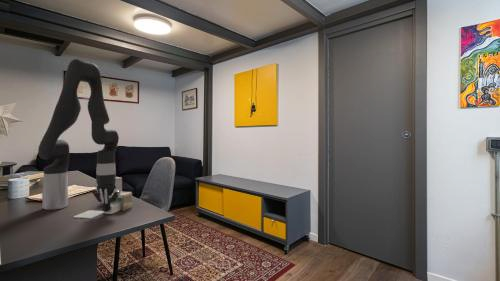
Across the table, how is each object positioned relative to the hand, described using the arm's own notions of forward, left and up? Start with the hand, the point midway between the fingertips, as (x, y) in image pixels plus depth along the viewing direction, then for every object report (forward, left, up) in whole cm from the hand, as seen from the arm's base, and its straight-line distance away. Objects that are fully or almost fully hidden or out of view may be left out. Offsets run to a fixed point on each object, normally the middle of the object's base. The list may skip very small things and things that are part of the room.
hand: (106, 211), depth 110 cm
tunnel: (0, +9, -2) cm, 9 cm away
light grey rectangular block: (0, +6, -2) cm, 6 cm away
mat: (-7, -1, -2) cm, 7 cm away
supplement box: (-12, +20, -2) cm, 23 cm away
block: (0, +13, -2) cm, 13 cm away
